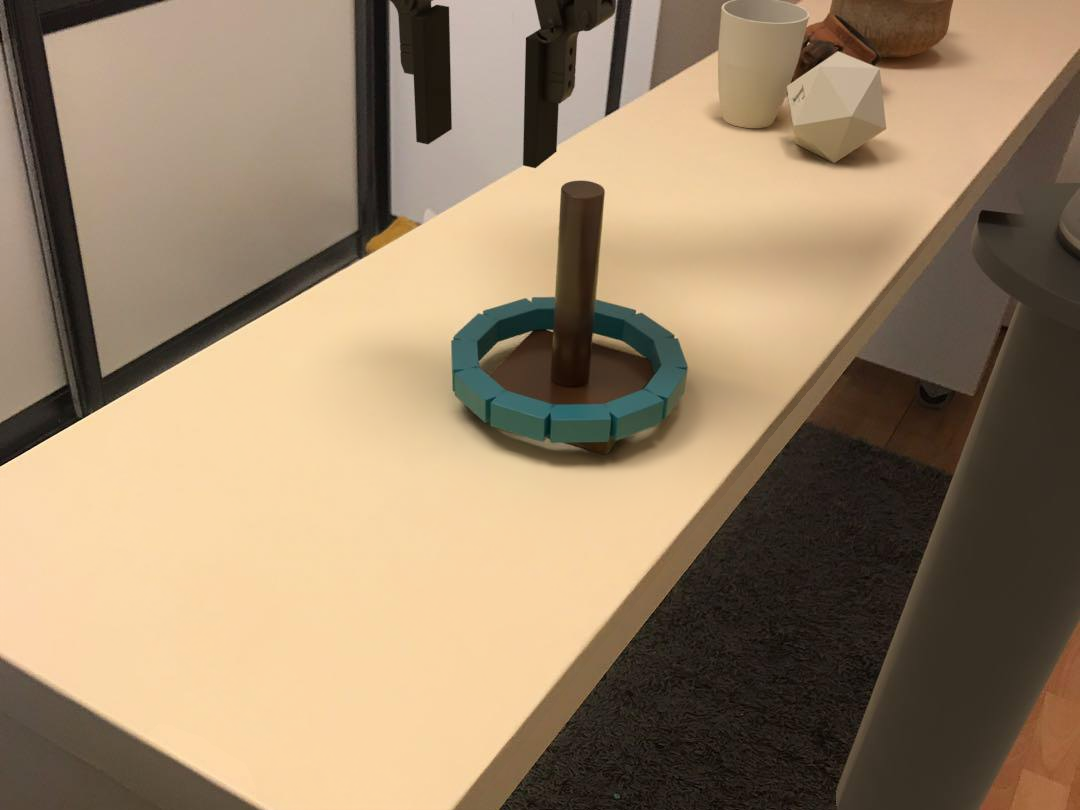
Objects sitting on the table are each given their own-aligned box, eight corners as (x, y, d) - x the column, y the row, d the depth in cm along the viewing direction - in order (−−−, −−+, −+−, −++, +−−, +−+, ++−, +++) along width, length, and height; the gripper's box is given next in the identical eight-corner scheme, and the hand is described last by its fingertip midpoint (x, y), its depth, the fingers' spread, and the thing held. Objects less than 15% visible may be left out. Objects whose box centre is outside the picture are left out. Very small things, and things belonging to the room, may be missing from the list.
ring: (711, 352, 69) (715, 330, 68) (631, 469, 59) (634, 446, 58) (514, 299, 73) (515, 277, 72) (408, 400, 63) (407, 377, 62)
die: (798, 132, 105) (766, 55, 98) (890, 95, 102) (864, 12, 94) (809, 195, 101) (776, 120, 94) (905, 158, 98) (879, 77, 90)
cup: (799, 115, 107) (820, 7, 101) (773, 140, 102) (793, 28, 95) (723, 99, 110) (739, -7, 103) (694, 122, 104) (708, 12, 98)
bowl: (838, 5, 134) (880, -79, 126) (938, 58, 132) (985, -24, 125) (795, 38, 121) (839, -52, 114) (904, 97, 119) (955, 9, 112)
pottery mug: (779, 73, 118) (831, 5, 114) (842, 129, 118) (897, 63, 113) (750, 72, 108) (806, -2, 104) (819, 134, 108) (878, 62, 103)
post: (660, 382, 69) (688, 177, 60) (606, 455, 62) (628, 239, 54) (535, 346, 71) (543, 145, 62) (471, 413, 65) (470, 200, 56)
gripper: (242, -420, 44) (305, 136, 60) (668, -404, 39) (617, 207, 54) (343, -414, 50) (377, 96, 65) (732, -399, 44) (669, 157, 59)
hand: (486, 146), depth 59 cm, fingers open, 6 cm apart
